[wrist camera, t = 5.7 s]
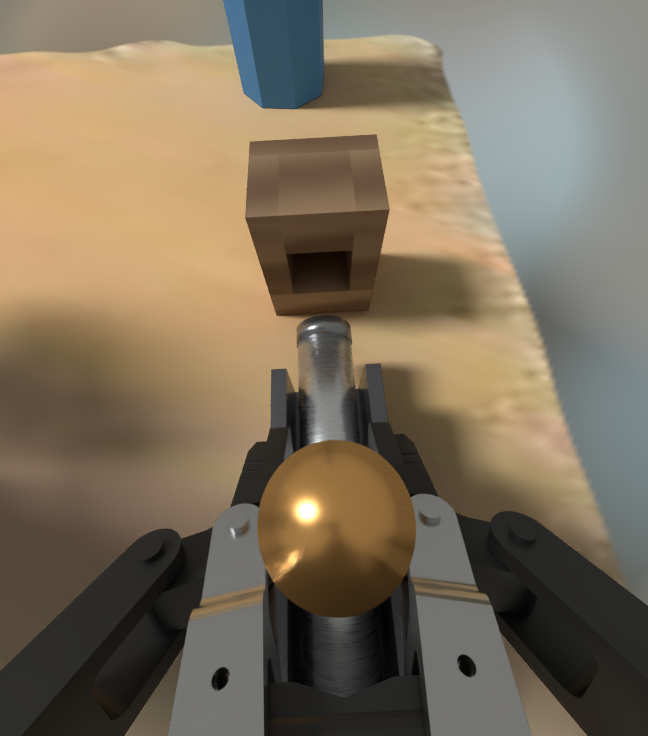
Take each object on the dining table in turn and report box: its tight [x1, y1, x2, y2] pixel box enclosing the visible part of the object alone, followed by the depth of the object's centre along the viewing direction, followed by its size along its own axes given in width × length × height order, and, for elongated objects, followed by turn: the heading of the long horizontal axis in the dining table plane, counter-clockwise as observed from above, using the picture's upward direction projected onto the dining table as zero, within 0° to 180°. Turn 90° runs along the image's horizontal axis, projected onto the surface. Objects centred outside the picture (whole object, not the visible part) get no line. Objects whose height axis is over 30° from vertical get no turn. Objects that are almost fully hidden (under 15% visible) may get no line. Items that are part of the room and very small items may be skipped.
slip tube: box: [257, 316, 416, 697], centre depth 11 cm, size 16×3×11 cm, turn 3°
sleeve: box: [271, 364, 404, 685], centre depth 15 cm, size 15×5×6 cm, turn 3°
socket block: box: [245, 135, 390, 315], centre depth 20 cm, size 6×7×9 cm
